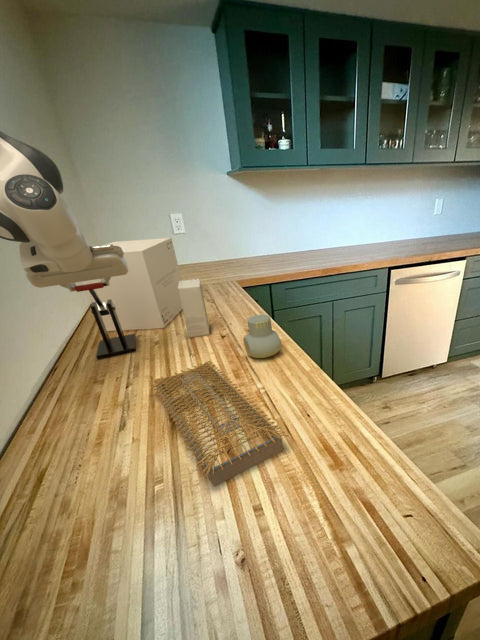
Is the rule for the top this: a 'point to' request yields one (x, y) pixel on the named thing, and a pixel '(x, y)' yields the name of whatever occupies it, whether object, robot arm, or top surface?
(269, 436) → the rafter model
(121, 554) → the top surface
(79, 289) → the lever
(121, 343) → the bracket
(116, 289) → the cube
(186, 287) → the cosmetic box
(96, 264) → the robot arm
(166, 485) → the top surface
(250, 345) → the air freshener
